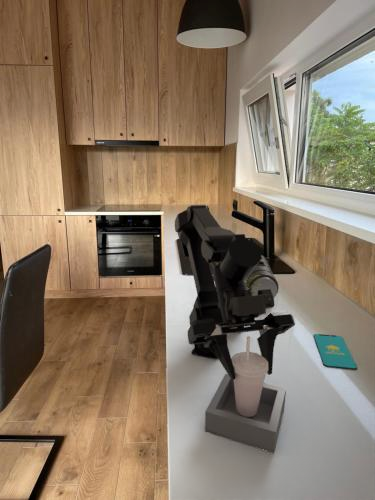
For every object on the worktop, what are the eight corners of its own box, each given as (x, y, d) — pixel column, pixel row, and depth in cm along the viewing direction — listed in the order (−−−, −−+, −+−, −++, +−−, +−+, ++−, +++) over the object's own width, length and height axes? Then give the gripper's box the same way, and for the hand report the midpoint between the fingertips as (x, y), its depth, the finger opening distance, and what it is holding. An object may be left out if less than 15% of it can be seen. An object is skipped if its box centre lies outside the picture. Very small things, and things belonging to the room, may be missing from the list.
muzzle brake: (267, 278, 136) (269, 253, 134) (278, 307, 109) (280, 276, 107) (243, 278, 137) (244, 252, 134) (248, 306, 110) (249, 275, 107)
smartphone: (324, 364, 78) (312, 333, 92) (323, 368, 78) (312, 335, 92) (358, 368, 76) (341, 335, 91) (358, 372, 76) (341, 338, 91)
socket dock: (205, 431, 59) (205, 411, 58) (225, 391, 69) (225, 373, 68) (274, 453, 54) (276, 432, 53) (284, 406, 65) (286, 388, 64)
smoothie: (247, 392, 66) (251, 326, 62) (272, 413, 61) (278, 341, 57) (221, 405, 62) (223, 335, 59) (245, 428, 57) (250, 353, 54)
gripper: (191, 276, 57) (209, 375, 49) (294, 269, 61) (325, 359, 53) (181, 302, 66) (195, 387, 59) (271, 294, 70) (294, 373, 63)
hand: (252, 376), depth 58 cm, fingers closed on smoothie, 6 cm apart
